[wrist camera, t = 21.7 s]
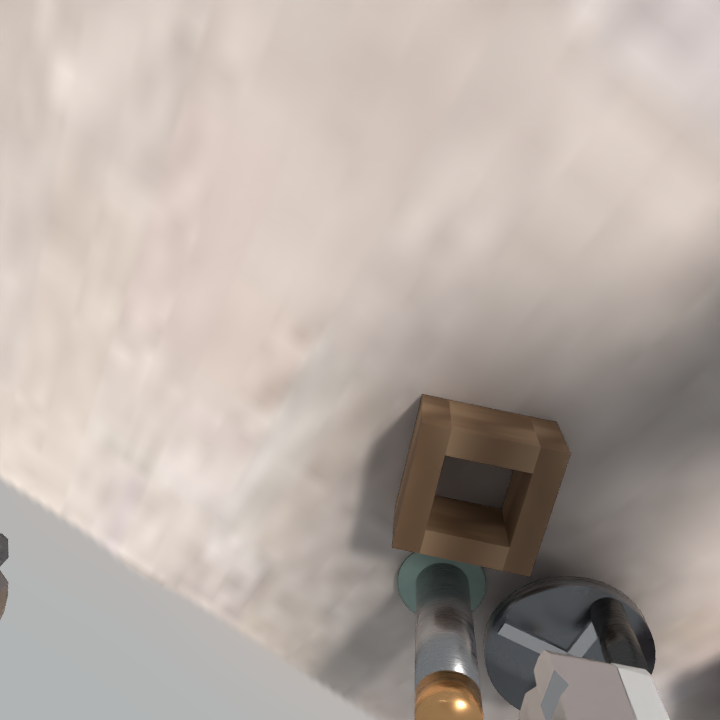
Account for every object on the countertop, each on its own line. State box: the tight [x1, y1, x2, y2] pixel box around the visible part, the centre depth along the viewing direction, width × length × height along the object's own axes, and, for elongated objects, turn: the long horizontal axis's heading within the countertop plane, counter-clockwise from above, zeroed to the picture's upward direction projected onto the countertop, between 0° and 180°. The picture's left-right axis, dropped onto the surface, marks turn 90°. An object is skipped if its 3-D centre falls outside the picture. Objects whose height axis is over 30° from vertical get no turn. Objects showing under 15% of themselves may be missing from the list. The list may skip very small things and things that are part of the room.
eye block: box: [392, 394, 571, 577], centre depth 40 cm, size 8×8×4 cm
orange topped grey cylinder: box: [415, 563, 483, 720], centre depth 39 cm, size 3×3×11 cm
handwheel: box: [484, 576, 655, 710], centre depth 40 cm, size 10×10×6 cm
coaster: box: [398, 552, 486, 613], centre depth 44 cm, size 6×6×1 cm
